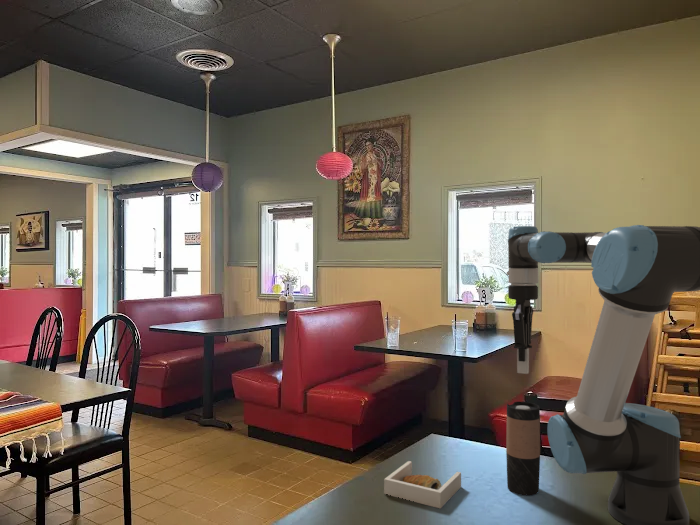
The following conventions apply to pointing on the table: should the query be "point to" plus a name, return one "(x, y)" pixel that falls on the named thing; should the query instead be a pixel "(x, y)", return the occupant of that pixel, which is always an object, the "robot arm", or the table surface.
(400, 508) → the table surface
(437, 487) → the pastry
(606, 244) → the robot arm
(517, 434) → the travel mug
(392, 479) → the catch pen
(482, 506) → the table surface
